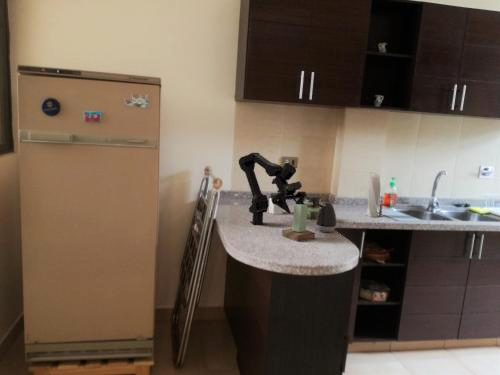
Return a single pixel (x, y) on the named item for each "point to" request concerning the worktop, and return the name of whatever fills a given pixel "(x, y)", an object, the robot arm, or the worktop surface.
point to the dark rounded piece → (326, 218)
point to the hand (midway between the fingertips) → (296, 211)
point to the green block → (300, 217)
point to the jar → (274, 206)
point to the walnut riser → (298, 235)
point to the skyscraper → (374, 197)
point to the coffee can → (312, 206)
